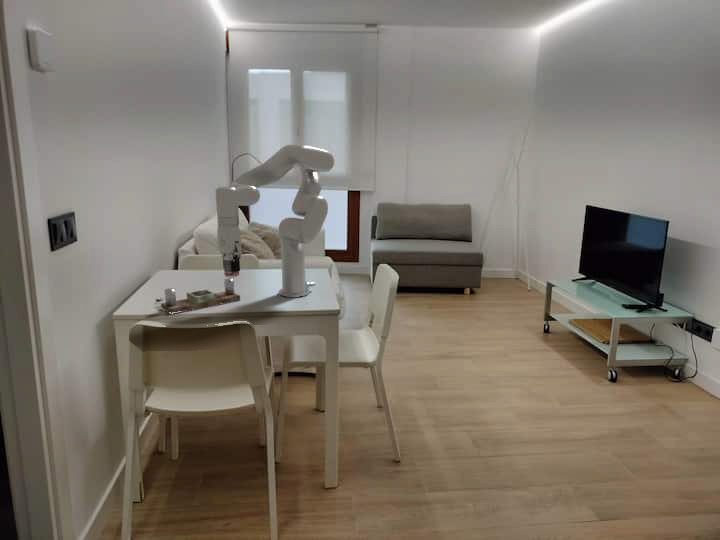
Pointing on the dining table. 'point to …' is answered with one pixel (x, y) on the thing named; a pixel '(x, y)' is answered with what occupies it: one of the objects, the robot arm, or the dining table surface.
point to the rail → (200, 300)
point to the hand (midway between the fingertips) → (231, 269)
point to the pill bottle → (229, 266)
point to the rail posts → (171, 296)
